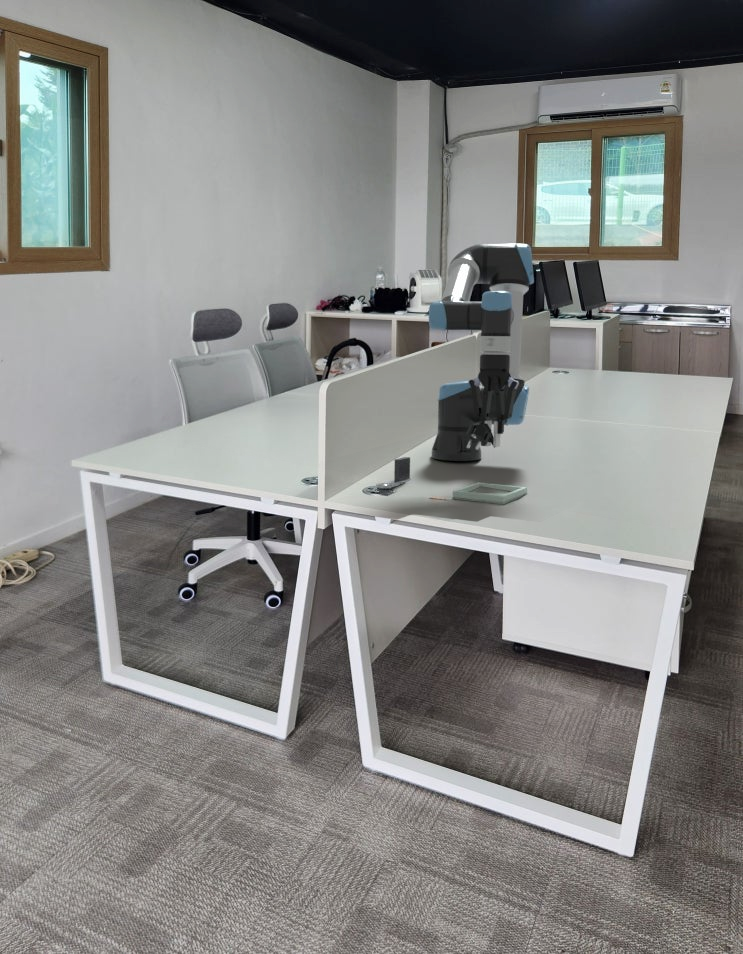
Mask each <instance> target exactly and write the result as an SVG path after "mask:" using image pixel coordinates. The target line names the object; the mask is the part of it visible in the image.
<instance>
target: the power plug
mask: <svg viewBox="0 0 743 954" xmlns="http://www.w3.org/2000/svg"><path fill="white" fill-rule="evenodd" d="M466 438H467V439H468V440H469V443H468V445H467V448H470V446H471V444H472V443H473V444H475V445H477V446H476V450H478V449H479V447H480V448H481V447H486V446H485V445H487V442H491V445H492V446H493V438H494V433H493V432H492V428H491V429H490V427H489V425H488V424H486V423H476V424H472V425H471V426H470V427H469V429H468V432H467V434H466ZM493 448H496V447H493Z"/></svg>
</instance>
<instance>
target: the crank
mask: <svg viewBox="0 0 743 954" xmlns="http://www.w3.org/2000/svg"><path fill="white" fill-rule="evenodd" d="M393 473H394V479H392V480H390V481H385V482H380V483H379V482H378V483H376V484H375V489H376V488H377V489H392V488H395V487H398V486H401V485H400V484H402V483H404V484H405V483H406V482H409V481H411V480H412V478H411V476H410V475H411V457H409V456H403V457H400V458H395V459H394V472H393ZM408 480H409V481H408ZM402 485H403V484H402Z"/></svg>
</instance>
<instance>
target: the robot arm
mask: <svg viewBox="0 0 743 954" xmlns="http://www.w3.org/2000/svg"><path fill="white" fill-rule="evenodd" d="M447 278H448V279H447V281H446V285H445V288H444V291H443V293H442V296H441V299H440V300H438V301H432V302H430V303H429V307H428V324H429V327H430V329H432V330H434V331H435V330H436V331H442V332H444V331H480V350H479V351H480V353H482V354H480V355H479V372H478V374H477V377H475V378H473V379H469V380H464V381H463V380H462V381H456V382H447V383H443V384H442V385H440V387H439V389H438V398H437V401H438V408H437V409H438V411H437V412H438V413H437V415H438V417H437V434H436V437H435V440H434V443H433V444H432V449H431V458H433V459H435V460H439V461H452V462H453V461H456V462H458V461H459V462H468V461H469V462H470V461H477V460H478V461H479V460H481V459H482V449H481V446H480V447H479V449H478V450H476V446H477V445H475V444H473V443H472V444H471V446H470V448H467V445H468V443H469V440H468V439H467V438H466V434H467V432H468V429H469V427H470V426H471V425H472V424H476V423H486V424H488V425H489V427H490V429H491V430H492V425H493V437H494V438H493V445H492V444H491V442H487V445H485V446H484V447H490V446H491V445H492V447H493V448H494V447H495V448H498V447H501V435H502V434H504V431H505V426H518V425H521V424H522V423H523V422H524V419H525V415H526V411H527V406H528V401H529V393H530V386H528V385H525V381H526V380H525V379H524V378H523V377H522V376H521V357H522V356H521V353H522V352H521V351H522V336H523V335H522V332H523V308H524V307H523V306H524V295H526V293H527V292H528V291H529V288H530V285H532V284H534V283H535V277H534V267H533V256H532V248H531V246H530V245H529V244H527V243H516V242H514V243H479V244H474V245H471V246H469V247H466V248H465V249H463V250H461V251H460V252H459V253H457V254H456V255H455V256H454V258H452V260H451V261H450V263H449V266H448V268H447ZM476 284H477V285H478V284H482V285H486V284H487V285H489V291H485V292H483V294H482V295H481V296H482V298H481V301H471V296H472V292H473V290H474V286H475V285H476Z"/></svg>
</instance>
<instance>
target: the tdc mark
mask: <svg viewBox="0 0 743 954" xmlns="http://www.w3.org/2000/svg"><path fill="white" fill-rule="evenodd" d="M429 499H432V500H439V501H440V500H441V501H445V500H446V498H443V497H435V496H430V497H429Z"/></svg>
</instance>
